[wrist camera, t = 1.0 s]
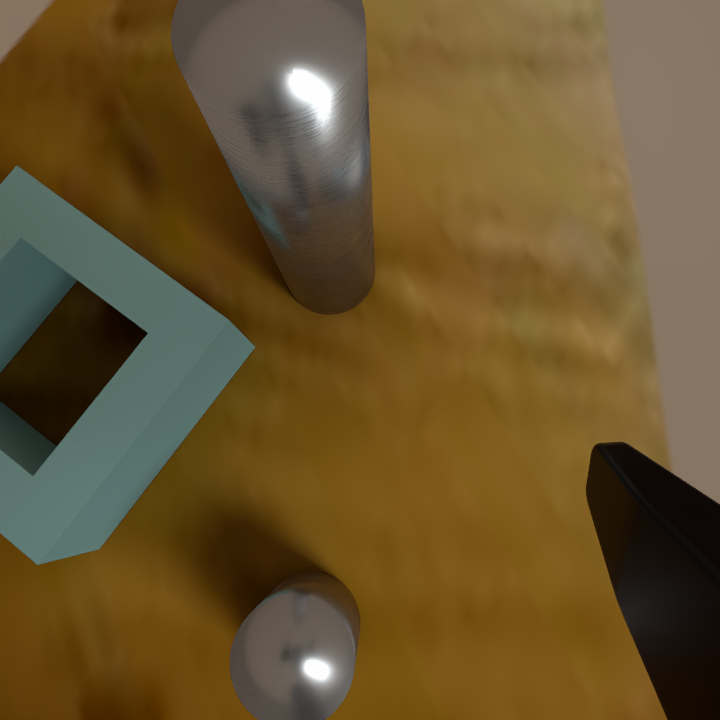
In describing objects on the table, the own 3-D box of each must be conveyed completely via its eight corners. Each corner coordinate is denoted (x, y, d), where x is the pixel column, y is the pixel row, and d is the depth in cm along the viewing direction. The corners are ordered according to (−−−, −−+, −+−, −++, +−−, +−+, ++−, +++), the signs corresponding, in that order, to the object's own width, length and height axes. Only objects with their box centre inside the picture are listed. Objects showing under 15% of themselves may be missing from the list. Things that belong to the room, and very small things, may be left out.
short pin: (320, 698, 21) (303, 757, 16) (241, 634, 21) (204, 675, 17) (380, 612, 21) (379, 647, 17) (301, 551, 22) (280, 569, 17)
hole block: (99, 549, 22) (37, 564, 18) (-81, 400, 23) (-176, 384, 19) (255, 347, 23) (229, 320, 19) (76, 215, 24) (17, 165, 20)
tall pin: (339, 331, 23) (285, 151, 10) (267, 281, 24) (131, 47, 11) (392, 261, 24) (404, 3, 11) (321, 212, 24) (251, -89, 11)
